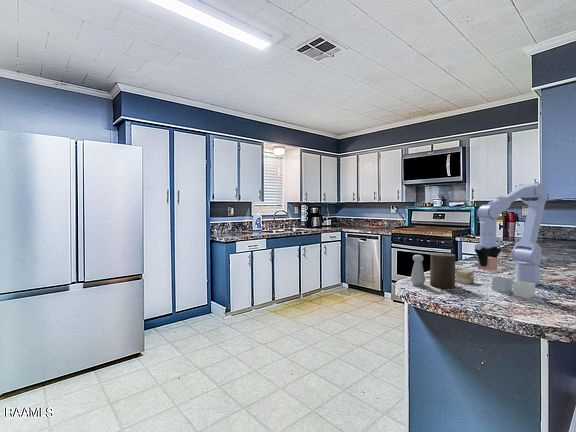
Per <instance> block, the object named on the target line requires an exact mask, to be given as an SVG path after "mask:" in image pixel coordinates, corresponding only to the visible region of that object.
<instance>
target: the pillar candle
mask: <svg viewBox="0 0 576 432" xmlns="http://www.w3.org/2000/svg"><path fill="white" fill-rule="evenodd" d="M429 268H430V273H429V274H430V275H429V277H430V278H429V283H430V284H429V285H430V286H432V287H435V288H438V289H448V290H450V289H454V288H455V287H456V254H454V253H444V251H442V252H432V253H430V267H429Z"/></svg>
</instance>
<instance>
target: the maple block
mask: <svg viewBox="0 0 576 432" xmlns="http://www.w3.org/2000/svg"><path fill="white" fill-rule="evenodd" d="M474 278H475V272H474V271H472V270H468V269H467V270H466V269H460V270H458V269H457V270H455V283H461V284H466V285H467V284H468V285H469V284H473V283H474V282H475V281H474V280H475V279H474Z"/></svg>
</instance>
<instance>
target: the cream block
mask: <svg viewBox="0 0 576 432" xmlns="http://www.w3.org/2000/svg"><path fill="white" fill-rule="evenodd" d="M512 295H514V296H517V297H522V298H525V299H530V298H534V297H536V285H535V283H530V282H525V281H517V282H512Z"/></svg>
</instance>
